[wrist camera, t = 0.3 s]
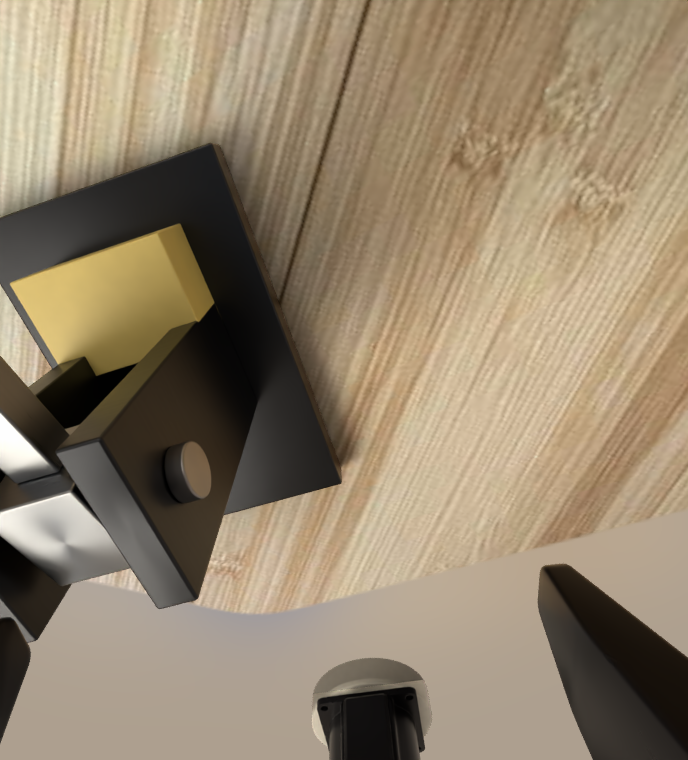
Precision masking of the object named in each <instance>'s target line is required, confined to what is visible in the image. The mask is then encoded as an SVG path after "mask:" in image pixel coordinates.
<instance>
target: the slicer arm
mask: <svg viewBox="0 0 688 760" xmlns="http://www.w3.org/2000/svg"><path fill="white" fill-rule="evenodd" d="M78 426H79V425H77V426H74V427H71V428H67V429H64V428H63V427H62V426H61V424H60V423H59V422H58V421H57V420H56V419H55V418H54V417H53V415H52V414H51V413H50V412H49V411H48V410H47V409H46V407H45V406H44V405H43V404H42V403H41V402H40V401H39V399H38V398H37V397H36V396H35V395H34V394H33V393H32V391H31V390H30V389H29V388H28V387H27V386H26V385H25V383H24V382H23V381H22V380H21V379H20V378H19V377H18V375H17V374H16V373H15V372H14V371H13V370H12V369H11V367H10V366H9V365H8V364H7V363H6V362H5V361H4V360H3V358H2V357H1V356H0V470H1V471H2V472H3V473H5V474H6V475H5V477H4V478H3V480H2V482H1V483H0V536H1V537H2V538H3V539H4V540H6V541H7V542H8V543H9V544H10V545H12V546H13V547H14V548H15V549H16V550H18V551H19V552H20V553H21V554H22V555H24V556H25V557H26V558H27V559H28V560H30V561H31V562H32V563H33V564H34V565H36V566H37V567H38V568H39V569H40V570H42V571H43V572H44V573H45V574H46V575H48V576H49V577H50V578H51V579H52V580H54V581H55V582H56V583H57V584H58V585H60V586H64V585H68V584H72V583H75V582H79V581H83V580H87V579H91V578H95V577H98V576H102V575H106V574H110V573H114V572H118V571H121V570H125V569H129V568H130V566H129V565H128V563H127V562H126V560H125V559H124V557H123V556H122V554H121V552H120V551H119V549H118V548H117V546H116V545H115V543H114V542H113V540H112V539H111V537H110V536H109V534H108V533H107V531H106V530H105V528H104V527H103V525H102V524H101V522H100V521H99V519H98V518H97V516H96V515H95V513H94V512H93V510H92V509H91V507H90V506H89V504H88V503H87V501H86V500H85V498H84V496H83V495H82V493H81V492H80V490H79V489H78V487H77V486H76V484H75V483H74V481H73V480H72V478H71V477H70V475H69V474H68V472H67V471H66V469H65V468H64V466H63V465H62V463H61V462H60V460H59V459H58V457H57V456H56V454H55V451H56V450H57V448H58V447H59V446H60V445H61V444H62V443H63V442H64V441H65V440H66V439H67V438H68V437H69V436H70V435H71V434H72V433H73V432H74V430H75V429H76V428H77V427H78Z"/></svg>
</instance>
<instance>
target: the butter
mask: <svg viewBox="0 0 688 760" xmlns="http://www.w3.org/2000/svg"><path fill="white" fill-rule="evenodd" d="M10 285H11V287H12V289H13V290H14V292H15V294H16V295H17V297H18V299H19V300H20V302H21V304H22V305H23V307H24V309H25V310H26V312H27V314H28V315H29V317H30V319H31V320H32V322H33V324H34V325H35V327H36V329H37V330H38V332H39V333H40V335H41V337H42V338H43V340H44V342H45V343H46V345H47V347H48V348H49V350H50V352H51V353H52V355H53V357H54V358H55V360H56V362H57V363H58V364H61V363H64V362H67V361H70V360H74V359H77V358H80V357H83V356H84V357H86V359H87V361H88V363H89V364H90V366H91V368H92V369H93V371H94V373H95V375H96V376H98V375H101V374H104V373H107V372H111V371H114V370H117V369H120V368H124V367H127V366H130V365H133V364H136V363H139V362H140V361H141V360H142V359H143V358H144V357H145V355H146V354H147V353H148V352H149V351H150V350H151V349H152V348H153V347H154V346H155V345H156V344H157V343H158V342H159V341H160V340H161V339H162V338H163V336H164V335H165V334H166V333H167V332H168V331H169V330H170V329H172V328H175V327H178V326H181V325H184V324H188V323H191V322H194V321H198V322H199V321H200V320H201V319H202V317H203V316H204V315H205V314H206V312H207V311H208V310H209V309H210V308H211V306H212V305H213V304H214V300H213V298H212V296H211V293H210V291H209V289H208V287H207V284H206V282H205V280H204V277H203V275H202V273H201V270H200V268H199V266H198V263H197V261H196V259H195V256H194V254H193V252H192V250H191V247H190V245H189V243H188V240H187V238H186V236H185V233H184V231H183V229H182V226H181V224H176V225H173V226H170V227H167V228H164V229H161V230H158V231H155V232H152V233H149V234H146V235H143V236H140V237H138V238H135V239H132V240H129V241H126V242H123V243H120V244H117V245H114V246H111V247H108V248H105V249H102V250H99V251H96V252H93V253H90V254H88V255H85V256H82V257H79V258H76V259H73V260H70V261H67V262H64V263H61V264H58V265H55V266H52V267H49V268H47V269H44V270H42V271H39V272H36V273H34V274H31V275H29V276H26V277H24V278H21V279H18V280H16V281H13V282H11V283H10ZM216 308H217V307H216Z"/></svg>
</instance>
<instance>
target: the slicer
mask: <svg viewBox="0 0 688 760" xmlns="http://www.w3.org/2000/svg"><path fill="white" fill-rule="evenodd" d="M176 224H181V226H182V229H183V231H184V233H185V236H186V238H187V240H188V243H189V245H190V247H191V250H192V252H193V254H194V256H195V259H196V261H197V263H198V266H199V268H200V270H201V273H202V275H203V277H204V280H205V282H206V284H207V287H208V289H209V291H210V293H211V296H212V298H213V300H214V304H213V305H212V306H211V308H210V309H209V310H208V311H207V312H206V314H205V315H204V316H203V317H202V319H201V320H200V321H199V322H198V321H194V322H191V323H188V324H184V325H181V326H178V327H175V328H172V329H170V330H169V331H168V332H167V333H166V334H165V335H164V336H163V338H162V339H161V340H160V341H159V342H158V343H157V344H156V345H155V346H154V347H153V348H152V349H151V350H150V351H149V352H148V353H147V354H146V355H145V357H144V358H143V359H142V360H141V361H140V362H139V363H136V364H133V365H130V366H127V367H124V368H120V369H117V370H114V371H111V372H107V373H104V374H101V375H98V376H96V375H95V373H94V371H93V369H92V368H91V366H90V364H89V363H88V361H87V359H86V357H84V356H83V357H80V358H77V359H74V360H70V361H67V362H64V363H61V364H58V363H57V362H56V360H55V358H54V357H53V355H52V353H51V352H50V350H49V348H48V347H47V345H46V343H45V342H44V340H43V338H42V337H41V335H40V333H39V332H38V330H37V329H36V327H35V325H34V324H33V322H32V320H31V319H30V317H29V315H28V314H27V312H26V310H25V309H24V307H23V305H22V304H21V302H20V300H19V299H18V297H17V295H16V294H15V292H14V290H13V289H12V287H11V285H10V283H11V282H13V281H16V280H18V279H21V278H24V277H26V276H29V275H31V274H34V273H36V272H39V271H42V270H44V269H47V268H49V267H52V266H55V265H58V264H61V263H64V262H67V261H70V260H73V259H76V258H79V257H82V256H85V255H88V254H90V253H93V252H96V251H99V250H102V249H105V248H108V247H111V246H114V245H117V244H120V243H123V242H126V241H129V240H132V239H135V238H138V237H140V236H143V235H146V234H149V233H152V232H155V231H158V230H161V229H164V228H167V227H170V226H173V225H176ZM0 284H1V286H2V288H3V289H4V291H5V293H6V294H7V296H8V297H9V299H10V301H11V302H12V304H13V306H14V307H15V309H16V311H17V312H18V314H19V315H20V317H21V319H22V320H23V322H24V324H25V325H26V327H27V329H28V330H29V332H30V333H31V335H32V337H33V338H34V340H35V342H36V343H37V345H38V347H39V348H40V350H41V351H42V353H43V355H44V356H45V358H46V360H47V361H48V363H49V365H50V366H51V368H52V370H51V371H49V372H48V373H47V374H45V375H44V376H43V377H41V378H40V379H39V380H37V381H36V382H35V383H33V384H32V385H31V386H29V387H28V388H29V389H30V390H31V391H32V393H33V394H34V395H35V396H36V397H37V398H38V399H39V401H40V402H41V403H42V404H43V405H44V406H45V407H46V409H47V410H48V411H49V412H50V413H51V414H52V415H53V417H54V418H55V419H56V420H57V421H58V422H59V423H60V424H61V426H62V427H63V428H64V429H67V428H71V427H74V426H77V425H79V426H78V427H77V428H76V429H75V430H74V432H73V433H72V434H71V435H70V436H69V437H68V438H67V439H66V440H65V441H64V442H63V443H62V444H61V445H60V446H59V447H58V448H57V450H56V451H55V454H56V456H57V457H58V459H59V460H60V462H61V463H62V465H63V466H64V468H65V469H66V471H67V472H68V474H69V475H70V477H71V478H72V480H73V481H74V483H75V484H76V486H77V487H78V489H79V490H80V492H81V493H82V495H83V496H84V498H85V500H86V501H87V503H88V504H89V506H90V507H91V509H92V510H93V512H94V513H95V515H96V516H97V518H98V519H99V521H100V522H101V524H102V525H103V527H104V528H105V530H106V531H107V533H108V534H109V536H110V537H111V539H112V540H113V542H114V543H115V545H116V546H117V548H118V549H119V551H120V552H121V554H122V556H123V557H124V559H125V560H126V562H127V563H128V565H129V566H130V568H131V569H132V571H133V572H134V574H135V575H136V577H137V578H138V580H139V581H140V583H141V584H142V586H143V587H144V589H145V590H146V592H147V593H148V595H149V596H150V598H151V599H152V601H153V602H154V604H155V605H156V607H157V608H158V609H162V608H166V607H170V606H174V605H178V604H182V603H186V602H190V601H194V600H197V599H198V597H199V594H200V590H201V587H202V584H203V581H204V577H205V574H206V571H207V567H208V564H209V561H210V558H211V554H212V551H213V548H214V545H215V541H216V538H217V535H218V531H219V528H220V525H221V522H222V518H223V515H227V514H230V513H234V512H238V511H241V510H245V509H249V508H253V507H256V506H260V505H264V504H267V503H271V502H275V501H279V500H282V499H286V498H290V497H293V496H297V495H301V494H304V493H308V492H312V491H316V490H319V489H323V488H327V487H330V486H334V485H338V484H341V482H342V478H341V466H340V463H339V461H338V458H337V455H336V453H335V450H334V447H333V445H332V442H331V439H330V437H329V434H328V431H327V429H326V426H325V423H324V421H323V418H322V415H321V413H320V410H319V408H318V405H317V402H316V400H315V397H314V394H313V392H312V389H311V386H310V384H309V381H308V378H307V376H306V373H305V370H304V368H303V365H302V362H301V360H300V357H299V354H298V352H297V349H296V346H295V344H294V341H293V338H292V336H291V333H290V330H289V328H288V325H287V323H286V320H285V317H284V315H283V312H282V309H281V307H280V304H279V301H278V299H277V296H276V293H275V291H274V288H273V285H272V283H271V280H270V277H269V275H268V272H267V269H266V267H265V264H264V261H263V259H262V256H261V253H260V251H259V248H258V245H257V243H256V240H255V238H254V235H253V232H252V230H251V227H250V224H249V222H248V219H247V216H246V214H245V211H244V208H243V206H242V203H241V200H240V198H239V195H238V192H237V190H236V187H235V184H234V182H233V179H232V176H231V174H230V171H229V168H228V166H227V163H226V160H225V158H224V155H223V153H222V150H221V147H220V145H219V144H214V143H209V144H206V145H203V146H200V147H197V148H194V149H192V150H189V151H186V152H183V153H180V154H178V155H175V156H172V157H169V158H166V159H164V160H161V161H158V162H155V163H152V164H150V165H147V166H144V167H141V168H138V169H135V170H133V171H130V172H127V173H124V174H121V175H119V176H116V177H113V178H110V179H107V180H105V181H102V182H99V183H96V184H93V185H91V186H88V187H85V188H82V189H79V190H76V191H74V192H71V193H68V194H65V195H62V196H60V197H57V198H54V199H51V200H48V201H46V202H43V203H40V204H37V205H34V206H31V207H29V208H26V209H23V210H20V211H17V212H15V213H12V214H9V215H6V216H3V217H1V218H0ZM216 307H217V308H216ZM5 475H6V474H5V473H3V472H2V471H1V470H0V483H1V482H2V480H3V478H4V477H5ZM70 586H71V584H68V585H64V586H60V585H58V584H57V583H56V582H55V581H54V580H52V579H51V578H50V577H49V576H48V575H46V574H45V573H44V572H43V571H42V570H40V569H39V568H38V567H37V566H36V565H34V564H33V563H32V562H31V561H30V560H28V559H27V558H26V557H25V556H24V555H22V554H21V553H20V552H19V551H18V550H16V549H15V548H14V547H13V546H12V545H10V544H9V543H8V542H7V541H6V540H4V539H3V538H2V537H1V536H0V617H11V618H13V619H14V620H15V621H16V623H17V625H18V627H19V628H20V630H21V632H22V634H23V636H24V638H25V640H26V641H27V643H29V642H33V641H36V640H37V639H38V638H39V636H40V635H41V633H42V632H43V630H44V628H45V627H46V625H47V624H48V622H49V620H50V619H51V617H52V615H53V613H54V612H55V610H56V609H57V607H58V605H59V604H60V602H61V601H62V599H63V597H64V596H65V594H66V592H67V591H68V589H69V588H70Z"/></svg>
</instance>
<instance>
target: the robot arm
mask: <svg viewBox="0 0 688 760" xmlns="http://www.w3.org/2000/svg"><path fill="white" fill-rule="evenodd" d="M538 608H539V613H540V616H541V620H542V622H543V626H544V629H545V632H546V635H547V638H548V641H549V643H550V647H551V650H552V653H553V656H554V658H555V662H556V665H557V668H558V671H559V674H560V677H561V680H562V683H563V686H564V689H565V692H566V695H567V698H568V700H569V704H570V707H571V709H572V712H573V714H574V717H575V719H576V722H577V724H578V727H579V729H580V731H581V734H582V736H583V738H584V740H585V743H586V745H587V747H588V749H589V752H590V754H591V756H592V758H593V760H688V657H686V656H685V655H684V654H682V653H681V652H680V651H678V650H677V649H676V648H675V647H673V646H672V645H671V644H670V643H668V642H667V641H666V640H665V639H663V638H662V637H661V636H659V635H658V634H657V633H656V632H654V631H653V630H652V629H650V628H649V627H648V626H647V625H645V624H644V623H643V622H641V621H640V620H639V619H638V618H636V617H635V616H634V615H632V614H631V613H630V612H629V611H627V610H626V609H625V608H623V607H622V606H621V605H620V604H618V603H617V602H616V601H614V600H613V599H612V598H611V597H609V596H608V595H606V594H605V593H604V592H603V591H602V590H600V589H599V588H598V587H597V586H595V585H594V584H593V583H591V582H590V581H589V580H588V579H586V578H585V577H584V576H582V575H581V574H580V573H578V572H577V571H576V570H575V569H573V568H572V567H571V566H569V565H567V564H555V565H545V566H543V567H542V568H541V570H540V578H539V591H538ZM30 657H31V652H30V647H29V645H28V643H27V641H26V640H25V638H24V636H23V634H22V632H21V630H20V628H19V627H18V625H17V623H16V621H15V620H14V619H13V618H11V617H0V743H1V740H2V737H3V734H4V732H5V729H6V726H7V723H8V721H9V718H10V715H11V712H12V710H13V707H14V704H15V701H16V699H17V696H18V693H19V690H20V687H21V685H22V682H23V680H24V677H25V674H26V671H27V668H28V666H29V662H30ZM317 712H318V715H319V718H320V722H321V725H322V729H323V732H324V736H325V739H326V742H327V746H328V749H329V753H330V754H329V756H330V757H329V758H330V760H420V754H419V753H420V752H422V751H424V750H425V745H424V739H423V732H422V725H421V719H420V712H419V706H418V700H417V693H416V689H415V688H413V687H401V688H393V689H385V690H377V691H369V692H361V693H353V694H346V695H338V696H330V697H322V698H320V699H318V701H317Z"/></svg>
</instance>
